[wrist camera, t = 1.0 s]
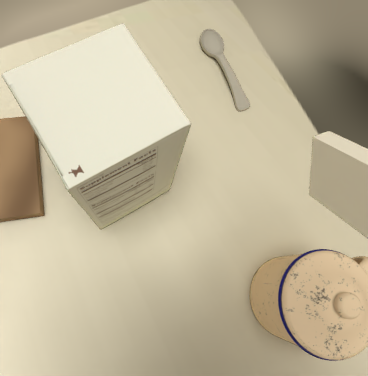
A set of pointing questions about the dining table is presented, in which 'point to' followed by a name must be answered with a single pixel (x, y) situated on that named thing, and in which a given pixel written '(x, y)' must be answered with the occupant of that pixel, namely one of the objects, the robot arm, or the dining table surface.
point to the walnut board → (19, 171)
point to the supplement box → (103, 122)
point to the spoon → (224, 66)
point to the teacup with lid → (315, 302)
